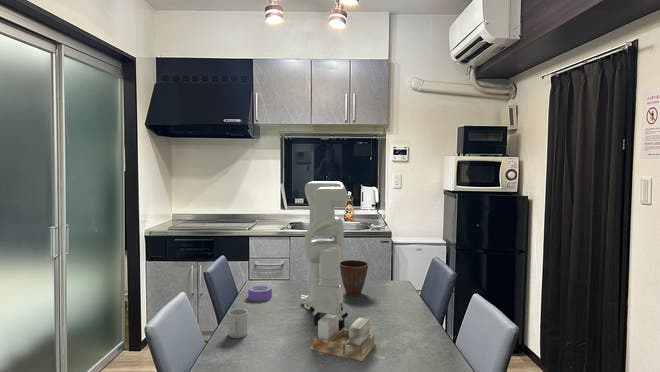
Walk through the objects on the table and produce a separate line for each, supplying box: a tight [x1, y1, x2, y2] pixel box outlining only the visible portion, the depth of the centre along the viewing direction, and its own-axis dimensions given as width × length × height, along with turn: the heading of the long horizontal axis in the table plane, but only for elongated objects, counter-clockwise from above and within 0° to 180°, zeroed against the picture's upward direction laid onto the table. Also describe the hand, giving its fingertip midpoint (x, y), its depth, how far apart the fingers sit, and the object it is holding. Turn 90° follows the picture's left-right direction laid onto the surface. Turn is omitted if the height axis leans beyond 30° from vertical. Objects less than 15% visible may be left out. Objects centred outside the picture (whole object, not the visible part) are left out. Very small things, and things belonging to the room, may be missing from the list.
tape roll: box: [247, 284, 273, 302], centre depth 205 cm, size 12×12×5 cm
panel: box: [317, 314, 340, 341], centre depth 151 cm, size 4×10×9 cm, turn 156°
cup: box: [228, 308, 249, 339], centre depth 158 cm, size 7×10×9 cm
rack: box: [310, 317, 377, 362], centre depth 149 cm, size 20×14×10 cm
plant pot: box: [340, 259, 369, 297], centre depth 212 cm, size 15×15×16 cm
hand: (328, 327), depth 151 cm, fingers open, 9 cm apart
